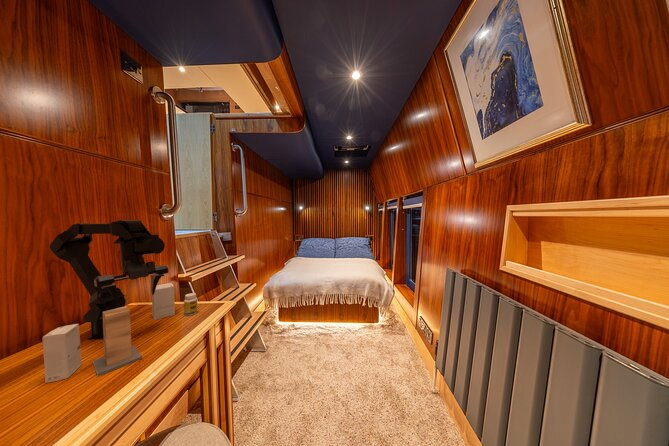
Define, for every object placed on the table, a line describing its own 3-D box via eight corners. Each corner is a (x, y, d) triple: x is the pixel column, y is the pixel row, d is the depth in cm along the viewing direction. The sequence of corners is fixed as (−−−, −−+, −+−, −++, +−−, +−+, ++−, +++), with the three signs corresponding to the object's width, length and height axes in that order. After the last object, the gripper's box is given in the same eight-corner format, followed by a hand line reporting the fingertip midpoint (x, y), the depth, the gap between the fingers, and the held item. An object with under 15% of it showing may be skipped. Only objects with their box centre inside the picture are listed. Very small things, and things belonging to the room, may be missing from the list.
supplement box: (173, 309, 99) (172, 282, 99) (175, 315, 94) (174, 286, 93) (151, 314, 94) (151, 285, 94) (152, 320, 89) (152, 290, 88)
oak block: (104, 359, 64) (102, 311, 63) (127, 350, 68) (126, 306, 67) (107, 366, 61) (105, 316, 60) (131, 356, 65) (130, 310, 64)
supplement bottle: (190, 316, 92) (190, 296, 92) (181, 315, 93) (181, 296, 93) (200, 311, 97) (199, 293, 97) (191, 310, 98) (190, 292, 98)
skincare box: (68, 378, 57) (66, 333, 57) (43, 384, 55) (40, 337, 55) (82, 364, 63) (80, 322, 62) (60, 369, 61) (58, 326, 60)
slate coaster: (93, 363, 63) (93, 360, 63) (134, 348, 70) (134, 345, 70) (97, 376, 58) (97, 373, 58) (142, 358, 65) (141, 356, 65)
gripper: (97, 262, 65) (102, 314, 65) (172, 251, 80) (175, 293, 80) (91, 260, 71) (96, 307, 72) (161, 250, 86) (165, 289, 87)
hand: (136, 299), depth 77 cm, fingers open, 9 cm apart
